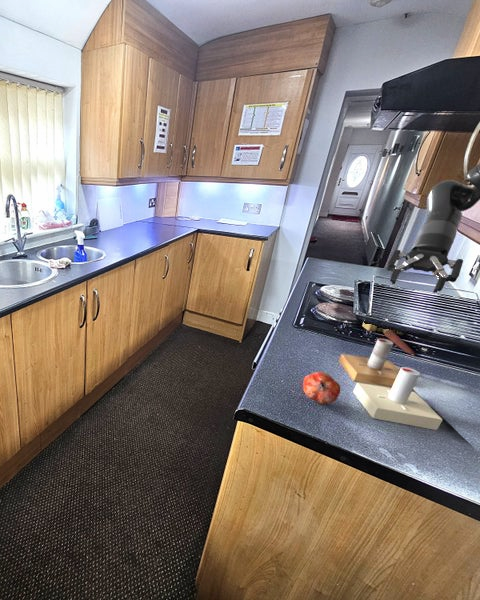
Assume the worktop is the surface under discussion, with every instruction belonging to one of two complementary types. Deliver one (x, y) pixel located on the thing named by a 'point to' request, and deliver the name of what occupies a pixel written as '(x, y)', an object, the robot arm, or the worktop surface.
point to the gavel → (390, 337)
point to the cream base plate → (396, 407)
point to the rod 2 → (403, 385)
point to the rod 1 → (380, 354)
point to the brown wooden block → (369, 371)
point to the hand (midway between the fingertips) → (414, 286)
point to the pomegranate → (321, 388)
